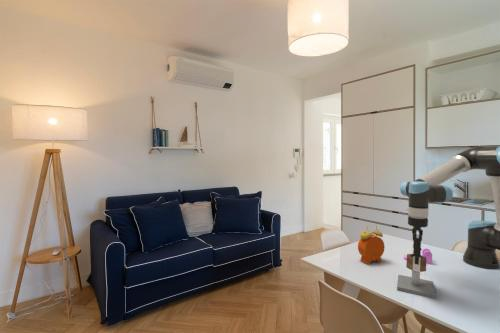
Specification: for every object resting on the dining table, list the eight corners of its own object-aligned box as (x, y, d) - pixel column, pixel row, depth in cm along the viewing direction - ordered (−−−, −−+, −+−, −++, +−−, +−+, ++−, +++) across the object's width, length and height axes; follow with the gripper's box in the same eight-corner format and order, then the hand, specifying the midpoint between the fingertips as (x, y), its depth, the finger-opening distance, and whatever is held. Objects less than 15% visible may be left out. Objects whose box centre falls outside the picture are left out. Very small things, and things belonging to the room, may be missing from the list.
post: (433, 284, 125) (433, 264, 125) (435, 298, 113) (436, 276, 113) (398, 277, 132) (398, 258, 132) (397, 290, 120) (397, 268, 120)
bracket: (429, 260, 153) (430, 248, 153) (431, 264, 148) (432, 252, 148) (403, 257, 158) (403, 245, 158) (404, 260, 153) (404, 248, 153)
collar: (425, 266, 124) (425, 255, 123) (426, 273, 117) (426, 261, 117) (406, 263, 127) (406, 252, 127) (406, 269, 121) (406, 258, 121)
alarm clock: (376, 257, 157) (377, 223, 156) (384, 261, 151) (385, 225, 150) (357, 260, 153) (357, 225, 152) (364, 264, 147) (365, 228, 146)
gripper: (408, 211, 132) (406, 258, 133) (407, 220, 114) (406, 274, 115) (426, 213, 128) (425, 261, 129) (429, 222, 110) (427, 278, 112)
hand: (416, 267), depth 122 cm, fingers closed on collar, 7 cm apart
